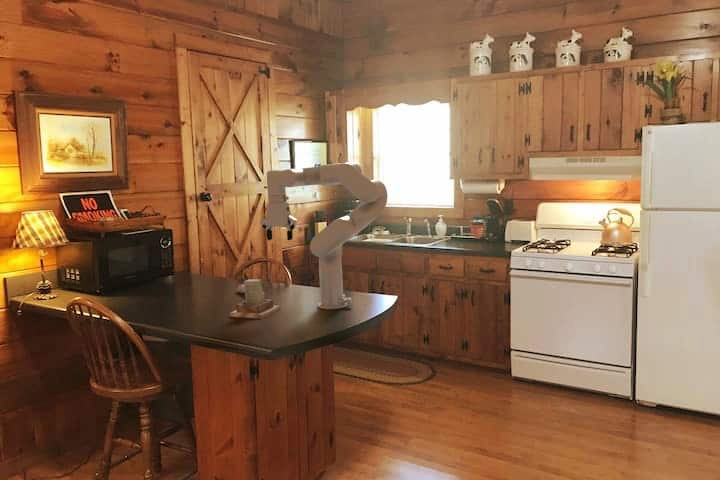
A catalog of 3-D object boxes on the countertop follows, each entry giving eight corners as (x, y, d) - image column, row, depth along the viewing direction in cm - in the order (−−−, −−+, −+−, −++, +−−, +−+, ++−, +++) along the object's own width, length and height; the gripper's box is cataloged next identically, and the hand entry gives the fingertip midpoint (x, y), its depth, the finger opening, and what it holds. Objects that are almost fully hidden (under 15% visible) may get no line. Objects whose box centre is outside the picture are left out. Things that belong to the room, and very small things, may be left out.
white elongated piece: (245, 283, 293) (265, 283, 271) (247, 296, 293) (267, 298, 271) (235, 284, 290) (254, 285, 269) (236, 298, 290) (256, 300, 269)
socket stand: (280, 309, 251) (279, 298, 251) (261, 318, 238) (261, 307, 237) (249, 307, 257) (249, 297, 257) (229, 316, 243) (228, 305, 243)
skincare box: (264, 308, 248) (262, 279, 247) (259, 311, 244) (257, 281, 243) (251, 307, 251) (249, 278, 249) (245, 310, 247) (243, 280, 245)
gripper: (299, 198, 254) (302, 238, 256) (264, 199, 260) (266, 238, 262) (291, 199, 247) (293, 241, 249) (254, 200, 253) (257, 241, 255)
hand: (279, 239), depth 256 cm, fingers open, 9 cm apart
